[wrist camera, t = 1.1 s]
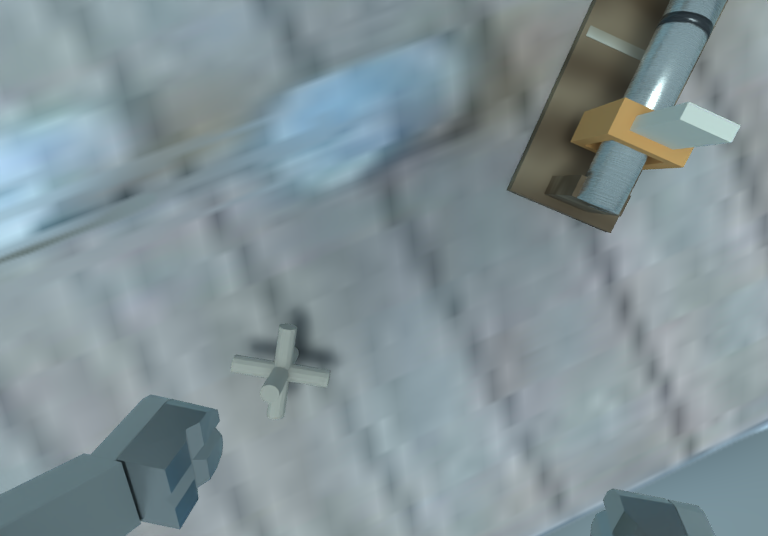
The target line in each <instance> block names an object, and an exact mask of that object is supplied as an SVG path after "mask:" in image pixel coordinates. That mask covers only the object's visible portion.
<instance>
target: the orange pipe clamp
mask: <svg viewBox="0 0 768 536" xmlns="http://www.w3.org/2000/svg"><path fill="white" fill-rule="evenodd" d="M739 128H740V125H738V124H736V123H734V122H732V121H730V120H727V119H725V118H723V117H721V116H719V115H716V114H714V113H712V112H710V111H708V110H706V109H703V108H701V107H699V106H697V105H695V104H692V103H690V102H686V103H682V104H679V105H675V106H671V107H667V108H664V109H660V110H656V111H654V110H652V109H650V108H648V107H646V106H643V105H641V104H639V103H637V102H635V101H632V100H630V99H628V98H626V97H625V98H622V99H619V100H616V101H613V102H611V103H608V104H605V105H602V106H599V107H596V108H594V109H591V110H588V111H585V112H584V114H583V116H582V118H581V120H580V122H579V125H578V127H577V129H576V131H575V133H574V135H573V137H572V139H571V143H574V144H576V145H578V146H581V147H583V148H585V149H587V150H590V151H592V152H594V153H597V151H598V149H599V146H600V144H601V142H603V141H609V140H614V141H616V142H618V143H620V144H623V145H625V146H627V147H629V148H632V149H634V150H636V151H638V152H641V153H643V154H645V155H647V156H648V158H647V160H646V162H645V164H644V166H643V168H642V170H645V169H663V168H681V167H684V165H685V163H686V161H687V160H688V158H689V156H690V154H691V152H692V150H693V148H694V147H700V146H708V145H716V144H725V143H732V141H733V139H734V137H735V135H736V133H737V131H738V130H739Z"/></svg>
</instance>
